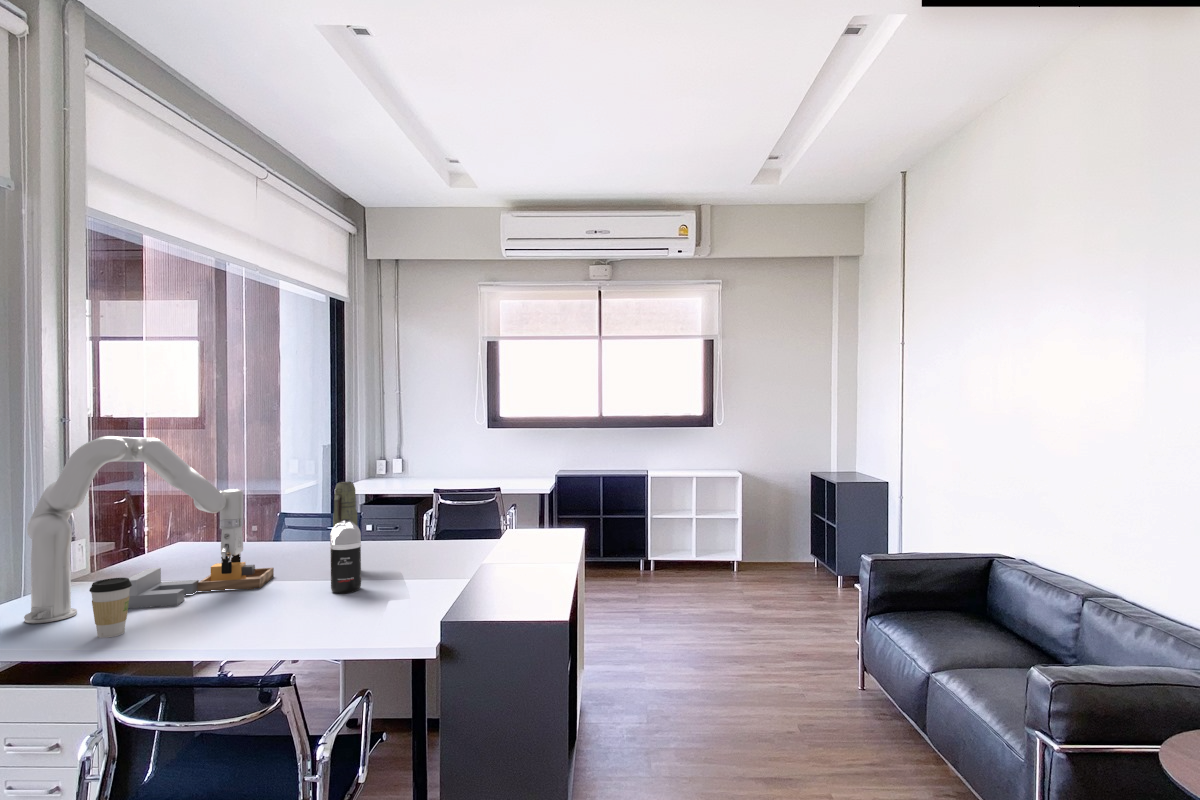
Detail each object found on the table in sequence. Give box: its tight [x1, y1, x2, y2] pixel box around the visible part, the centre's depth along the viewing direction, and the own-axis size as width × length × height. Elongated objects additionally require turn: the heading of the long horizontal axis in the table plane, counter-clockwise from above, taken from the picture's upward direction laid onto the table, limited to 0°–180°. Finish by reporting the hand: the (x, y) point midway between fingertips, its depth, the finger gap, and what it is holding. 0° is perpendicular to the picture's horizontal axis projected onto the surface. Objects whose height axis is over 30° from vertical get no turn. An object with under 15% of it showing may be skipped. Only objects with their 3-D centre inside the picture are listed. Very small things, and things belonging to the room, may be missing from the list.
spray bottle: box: [329, 519, 362, 594], centre depth 236 cm, size 10×10×25 cm
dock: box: [128, 567, 200, 609], centre depth 228 cm, size 18×16×9 cm
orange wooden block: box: [210, 561, 256, 581], centre depth 247 cm, size 6×14×6 cm, turn 101°
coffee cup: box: [89, 577, 132, 639], centre depth 192 cm, size 10×10×15 cm
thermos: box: [332, 481, 358, 528], centre depth 264 cm, size 9×12×35 cm
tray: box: [198, 567, 275, 591], centre depth 247 cm, size 18×20×4 cm
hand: (231, 570), depth 247 cm, fingers open, 9 cm apart
